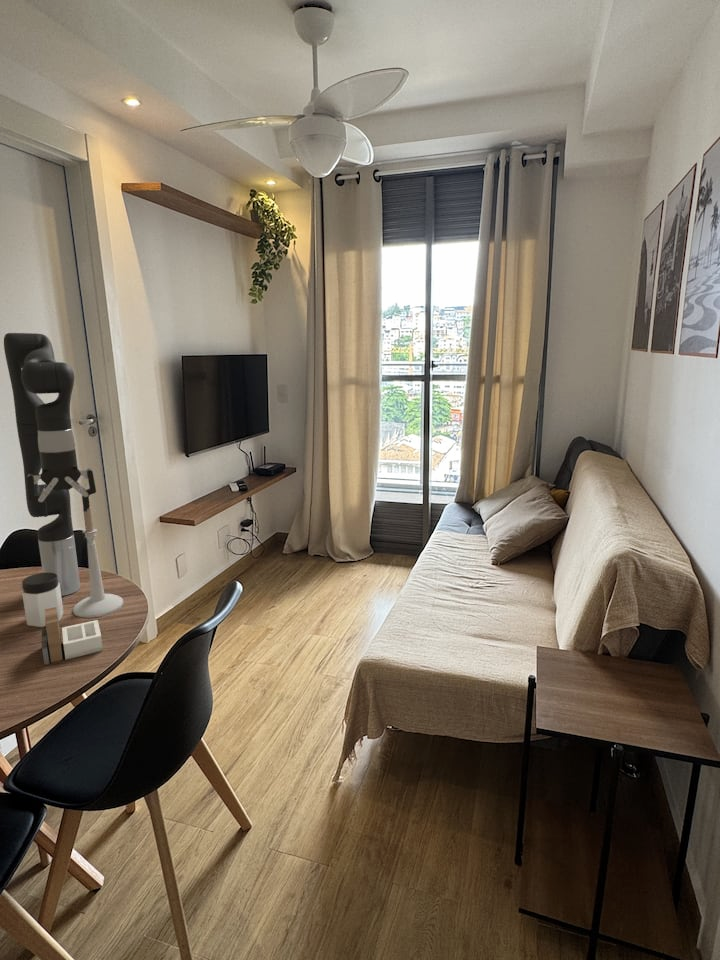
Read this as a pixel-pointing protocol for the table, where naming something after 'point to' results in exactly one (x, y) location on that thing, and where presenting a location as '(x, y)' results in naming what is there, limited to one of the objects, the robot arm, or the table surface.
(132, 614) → the table surface
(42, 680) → the table surface
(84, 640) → the cabinet
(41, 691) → the table surface
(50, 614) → the door
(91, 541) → the candlestick
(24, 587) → the jar
